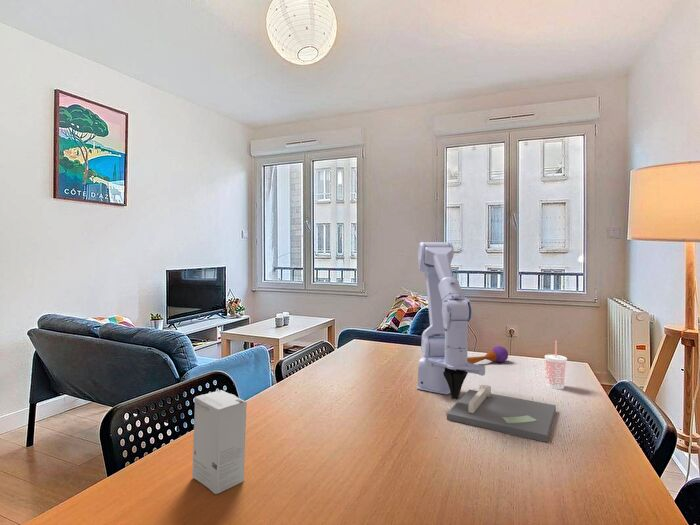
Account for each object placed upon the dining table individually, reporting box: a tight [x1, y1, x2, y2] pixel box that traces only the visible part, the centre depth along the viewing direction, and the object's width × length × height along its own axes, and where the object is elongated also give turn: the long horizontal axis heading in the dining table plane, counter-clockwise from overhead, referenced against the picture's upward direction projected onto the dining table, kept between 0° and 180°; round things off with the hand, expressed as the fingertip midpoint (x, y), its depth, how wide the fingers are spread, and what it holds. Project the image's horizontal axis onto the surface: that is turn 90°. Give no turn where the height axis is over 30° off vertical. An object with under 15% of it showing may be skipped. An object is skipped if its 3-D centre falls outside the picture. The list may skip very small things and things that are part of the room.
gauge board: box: [446, 389, 557, 443], centre depth 102 cm, size 22×20×2 cm
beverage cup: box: [544, 340, 568, 390], centre depth 123 cm, size 6×6×14 cm
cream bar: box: [468, 384, 492, 413], centre depth 106 cm, size 16×3×2 cm, turn 148°
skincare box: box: [191, 389, 248, 495], centre depth 73 cm, size 8×6×15 cm
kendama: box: [467, 345, 509, 364], centre depth 148 cm, size 6×6×20 cm
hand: (455, 398), depth 106 cm, fingers closed
